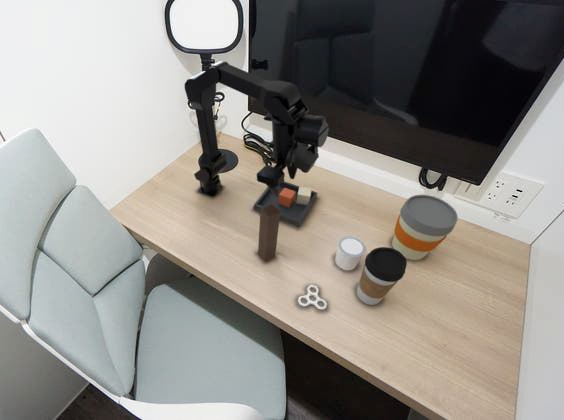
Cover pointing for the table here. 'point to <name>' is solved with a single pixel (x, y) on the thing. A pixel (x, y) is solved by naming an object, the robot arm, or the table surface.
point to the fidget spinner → (311, 300)
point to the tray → (287, 214)
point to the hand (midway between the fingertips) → (284, 187)
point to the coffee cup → (380, 274)
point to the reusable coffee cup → (422, 225)
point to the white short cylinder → (349, 252)
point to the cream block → (303, 195)
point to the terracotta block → (286, 197)
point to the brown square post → (268, 232)
